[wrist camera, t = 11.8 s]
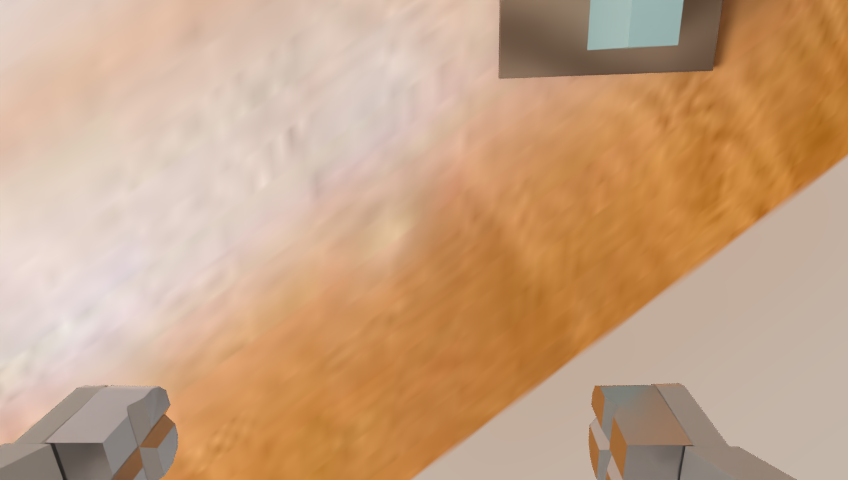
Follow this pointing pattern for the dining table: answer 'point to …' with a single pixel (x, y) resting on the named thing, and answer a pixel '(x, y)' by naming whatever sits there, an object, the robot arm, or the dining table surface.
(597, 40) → the green arch block
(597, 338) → the dining table surface
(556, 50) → the stand
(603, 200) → the dining table surface
